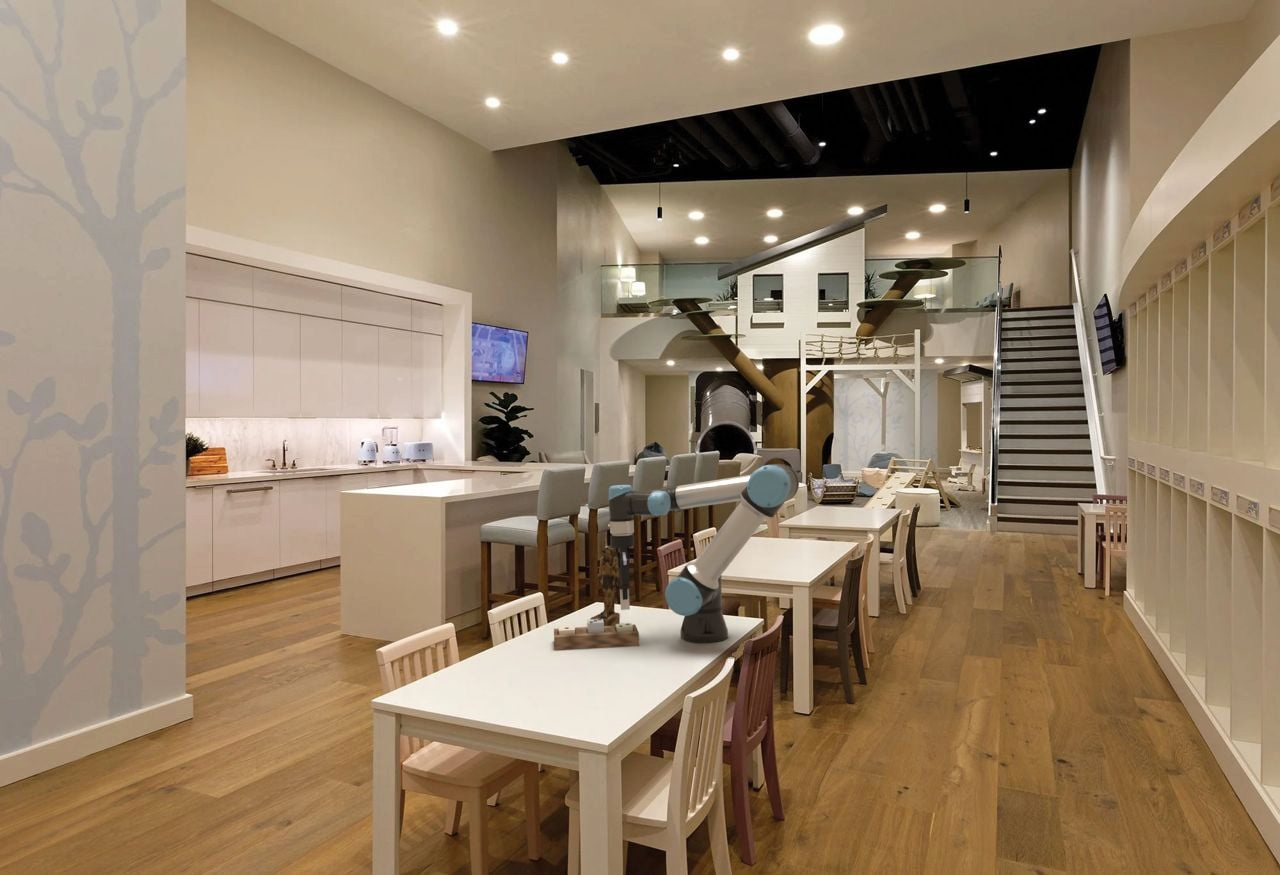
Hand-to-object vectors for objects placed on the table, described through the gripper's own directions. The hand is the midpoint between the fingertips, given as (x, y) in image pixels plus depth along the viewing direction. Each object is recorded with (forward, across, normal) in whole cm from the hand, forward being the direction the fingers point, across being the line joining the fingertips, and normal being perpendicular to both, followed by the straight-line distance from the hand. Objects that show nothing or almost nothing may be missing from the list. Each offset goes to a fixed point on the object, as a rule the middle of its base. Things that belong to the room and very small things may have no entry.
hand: (625, 609), depth 253 cm
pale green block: (+9, 0, -1) cm, 9 cm away
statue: (+10, -20, -5) cm, 23 cm away
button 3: (+7, 0, -10) cm, 12 cm away
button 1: (+9, 0, -19) cm, 21 cm away
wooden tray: (+10, 0, -10) cm, 14 cm away
